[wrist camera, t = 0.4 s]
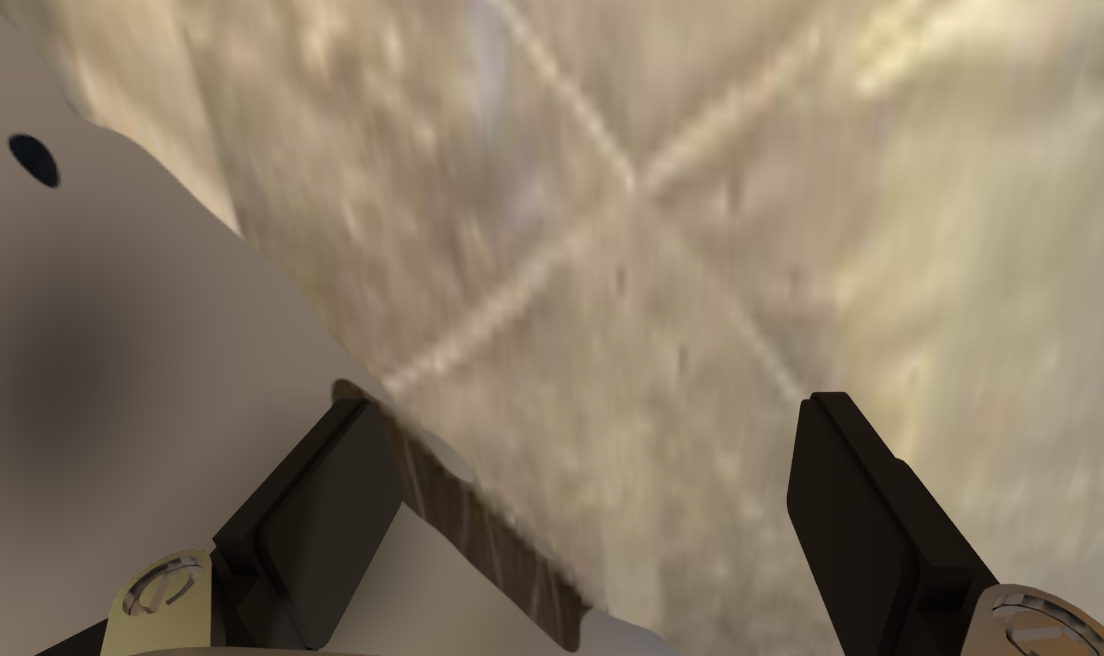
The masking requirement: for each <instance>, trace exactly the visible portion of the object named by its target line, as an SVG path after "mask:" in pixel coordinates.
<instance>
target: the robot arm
mask: <svg viewBox="0 0 1104 656" xmlns="http://www.w3.org/2000/svg"><path fill="white" fill-rule="evenodd" d="M401 502H402V488H401V485H400V482H399V478H398V475H397V472H396V469H395V466H394V462H393V459H392V456H391V453H390V449H389V446H388V443H387V440H386V436H385V433H384V430H383V427H382V423H381V420H380V417H379V414H378V411H377V408H376V406H375V405H373V404H370V402H369V401H368V400H367V399H366V398H342V399H339V400H338V401H337V402H336V403H335V404H334V405H333V406H332V407H331V408H330V409H329V410H328V412H327V413H326V414H325V415H324V416H323V417H322V418H321V419H320V420H319V421H318V423H317V424H316V425H315V426H314V427H313V428H312V429H311V430H310V431H309V432H308V434H307V435H306V436H305V437H304V438H303V439H302V440H301V441H300V442H299V443H298V445H297V446H296V447H295V448H294V449H293V450H292V451H291V452H290V454H288V456H287V457H286V458H285V459H284V460H283V461H282V462H281V463H280V464H279V466H278V467H277V468H276V469H275V470H274V471H273V472H272V473H271V474H270V475H269V476H268V478H267V479H266V480H265V481H264V482H263V483H262V484H261V485H260V486H259V488H258V489H257V490H256V491H255V492H254V493H253V494H252V495H251V496H250V497H249V498H248V500H247V501H246V502H245V503H244V504H243V505H242V506H241V507H240V508H239V509H238V511H237V512H236V513H235V514H234V515H233V516H232V517H231V518H230V519H229V521H228V522H227V523H226V524H225V525H224V526H223V527H222V528H221V529H220V530H219V532H218V533H217V534H216V535H215V536H214V537H213V541H214V543H215V544H216V546H217V547H216V548H215V549H214V550H213V551H212V552H211V554H210V555H209V554H207V553H206V552H205V551H203V550H196V549H191V550H184V551H179V552H177V553H174V554H171V555H168V556H166V557H164V558H162V559H160V560H158V561H156V562H154V563H152V564H151V565H149V566H148V567H147V568H145V569H144V570H142V571H141V572H139V573H138V574H137V575H136V576H135V577H133V578H132V579H131V580H130V581H129V582H128V583H127V584H126V585H125V586H124V587H123V589H122V590H121V591H120V593H119V594H118V595H117V596H116V598H115V600H114V602H113V605H112V607H111V610H110V615H109V618H107V619H105V620H103V621H101V622H99V623H97V624H96V625H94V626H91V627H89V628H87V629H86V630H84V631H82V632H80V633H78V634H76V635H74V636H72V637H70V638H68V639H66V640H65V641H62V642H60V643H58V644H56V645H54V646H53V647H51V648H48V649H47V650H45V651H43V652H41V653H39V654H37V655H35V656H376V655H363V654H348V653H334V652H319V651H318V649H319V648H323V647H324V646H325V645H326V644H327V643H328V642H329V640H330V638H331V636H332V634H333V633H334V630H335V629H336V627H337V625H338V623H339V621H340V619H341V617H342V615H343V614H344V612H345V610H346V608H347V606H348V604H349V602H350V600H351V598H352V596H353V594H354V593H355V591H356V589H357V587H358V585H359V583H360V581H361V579H362V577H363V576H364V574H365V572H366V570H367V568H368V566H369V564H370V562H371V560H372V559H373V557H374V555H375V553H376V551H377V549H378V547H379V545H380V543H381V541H382V540H383V538H384V536H385V534H386V532H387V530H388V528H389V526H390V524H391V522H392V521H393V519H394V517H395V515H396V513H397V511H398V509H399V507H400V505H401ZM787 509H788V513H789V516H790V519H791V521H792V524H793V526H794V529H795V531H796V534H797V536H798V539H799V541H800V544H801V546H802V549H803V551H804V554H805V556H806V559H807V561H808V564H809V566H810V569H811V571H812V574H813V576H814V579H815V581H816V584H817V586H818V589H819V591H820V594H821V596H822V599H823V601H824V604H825V606H826V609H827V611H828V614H829V616H830V619H831V621H832V624H833V626H834V629H835V631H836V634H837V636H838V639H839V641H840V644H841V646H842V649H843V651H844V654H845V656H1104V626H1103V625H1102V624H1100V623H1099V622H1097V621H1096V620H1095V619H1093V618H1092V617H1091V616H1089V615H1088V614H1086V613H1085V612H1084V611H1082V610H1081V609H1080V608H1078V607H1076V606H1074V605H1072V604H1070V603H1068V602H1067V601H1065V600H1063V599H1061V598H1059V597H1057V596H1055V595H1052V594H1050V593H1047V592H1044V591H1042V590H1039V589H1036V588H1033V587H1028V586H1023V585H1018V584H1000V583H999V582H998V580H997V579H996V578H995V577H994V575H993V574H992V573H991V571H990V570H989V569H988V567H987V566H986V565H985V564H984V562H983V561H982V560H981V558H980V557H979V556H978V555H977V553H976V552H975V551H974V549H973V548H972V547H971V545H970V544H969V543H968V542H967V540H966V539H965V538H964V536H963V535H962V534H961V533H960V531H959V530H958V529H957V527H956V526H955V525H954V523H953V522H952V521H951V520H950V518H949V517H948V516H947V514H946V513H945V512H944V510H943V509H942V508H941V507H940V505H939V504H938V503H937V501H936V500H935V499H934V498H933V496H932V495H931V494H930V492H929V491H928V490H927V488H926V487H925V486H924V485H923V483H922V482H921V481H920V479H919V478H918V477H917V476H916V474H915V473H914V472H913V470H912V469H911V468H910V467H909V466H908V465H907V464H906V463H905V462H904V461H903V460H901V459H898V458H895V456H894V455H893V454H892V452H891V451H890V450H889V448H888V447H887V446H886V444H885V443H884V442H883V440H882V439H881V438H880V436H879V435H878V434H877V432H876V431H875V430H874V428H873V427H872V426H871V425H870V423H869V422H868V421H867V419H866V418H865V417H864V415H863V414H862V413H861V411H860V410H859V409H858V407H857V406H856V405H855V403H854V402H853V401H852V399H851V398H850V397H849V395H848V394H847V393H845V392H814V393H812V395H811V396H810V399H804V400H802V402H801V405H800V411H799V418H798V425H797V432H796V438H795V445H794V452H793V458H792V465H791V472H790V479H789V485H788V492H787Z"/></svg>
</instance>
